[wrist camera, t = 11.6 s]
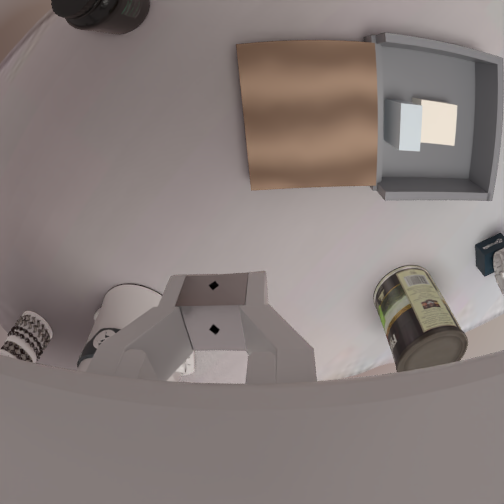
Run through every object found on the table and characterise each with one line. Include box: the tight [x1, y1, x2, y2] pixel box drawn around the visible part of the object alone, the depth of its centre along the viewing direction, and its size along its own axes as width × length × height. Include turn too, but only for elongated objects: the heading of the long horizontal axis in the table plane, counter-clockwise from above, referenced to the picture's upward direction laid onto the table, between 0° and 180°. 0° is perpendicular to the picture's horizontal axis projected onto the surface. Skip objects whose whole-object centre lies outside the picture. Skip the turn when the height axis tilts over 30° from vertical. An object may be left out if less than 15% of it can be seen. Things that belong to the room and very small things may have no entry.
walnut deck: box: [236, 40, 378, 191], centre depth 32 cm, size 16×14×4 cm
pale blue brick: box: [384, 99, 422, 152], centre depth 30 cm, size 5×5×2 cm
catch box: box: [364, 33, 504, 201], centre depth 29 cm, size 18×16×6 cm
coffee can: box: [374, 265, 468, 372], centre depth 40 cm, size 10×10×14 cm
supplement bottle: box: [51, 0, 150, 34], centre depth 22 cm, size 7×7×12 cm
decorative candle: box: [0, 311, 53, 363], centre depth 45 cm, size 9×9×25 cm
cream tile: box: [412, 97, 457, 146], centre depth 30 cm, size 5×5×2 cm
